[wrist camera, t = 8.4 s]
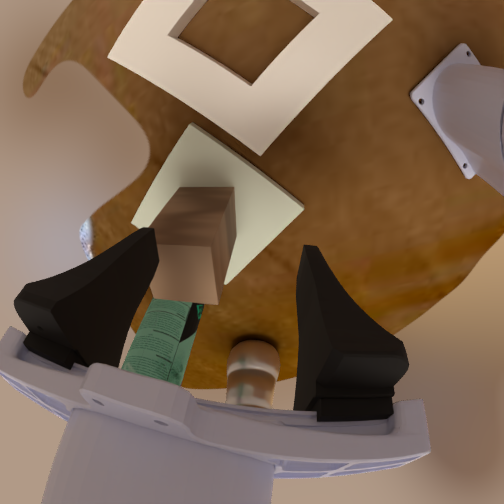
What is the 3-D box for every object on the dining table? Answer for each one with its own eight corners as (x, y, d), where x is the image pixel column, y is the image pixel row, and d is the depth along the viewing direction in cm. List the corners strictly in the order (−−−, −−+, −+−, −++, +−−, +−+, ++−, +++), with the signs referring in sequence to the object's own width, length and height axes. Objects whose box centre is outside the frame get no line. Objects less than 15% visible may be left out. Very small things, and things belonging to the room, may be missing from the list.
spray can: (156, 301, 32) (95, 459, 16) (162, 269, 28) (83, 451, 12) (200, 316, 32) (154, 481, 16) (210, 286, 29) (157, 480, 13)
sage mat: (303, 204, 22) (304, 209, 22) (227, 279, 28) (226, 284, 28) (192, 122, 19) (189, 124, 18) (134, 218, 25) (131, 222, 24)
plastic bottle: (219, 342, 35) (188, 491, 19) (260, 326, 32) (239, 498, 16) (251, 365, 38) (232, 499, 22) (291, 351, 35) (282, 502, 19)
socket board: (383, 23, 13) (392, 19, 11) (262, 148, 20) (260, 156, 18) (227, -72, 9) (222, -82, 7) (120, 56, 16) (107, 57, 14)
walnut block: (234, 187, 21) (210, 246, 15) (236, 235, 24) (218, 304, 18) (179, 187, 22) (136, 243, 15) (186, 233, 24) (154, 298, 18)
